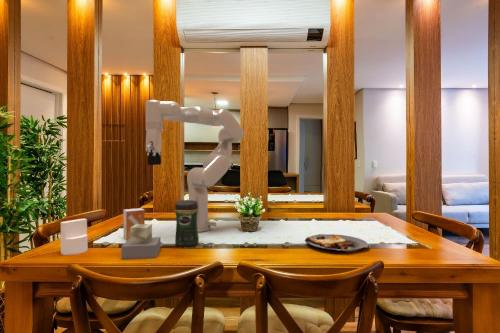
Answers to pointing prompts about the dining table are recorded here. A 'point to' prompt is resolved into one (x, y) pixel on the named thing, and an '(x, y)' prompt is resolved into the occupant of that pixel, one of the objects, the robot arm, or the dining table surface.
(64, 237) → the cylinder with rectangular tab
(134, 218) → the small box
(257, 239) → the dining table surface
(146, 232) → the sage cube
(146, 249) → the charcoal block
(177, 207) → the coffee jar
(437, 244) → the dining table surface
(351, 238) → the food plate
